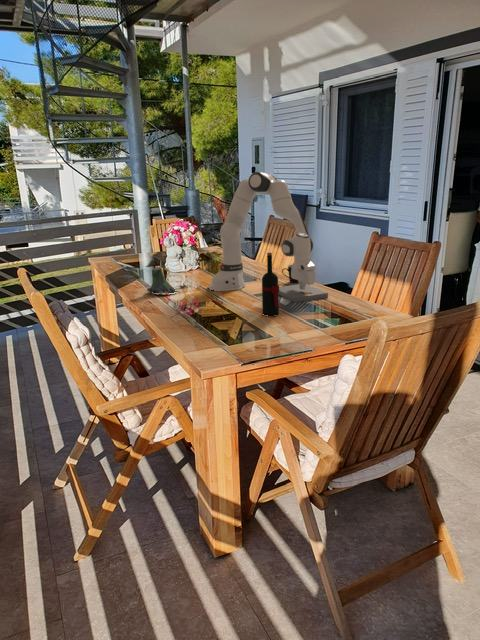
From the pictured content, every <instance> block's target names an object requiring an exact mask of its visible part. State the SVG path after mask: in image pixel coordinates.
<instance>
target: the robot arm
mask: <svg viewBox="0 0 480 640" xmlns="http://www.w3.org/2000/svg"><path fill="white" fill-rule="evenodd" d="M290 191H291V190H290V189H289V186H288V184H287V182H286V181H284V180H282V179H281V180H280V179H279V180H278V179H277V177H276V176H274V175H273V174H270V173H267V172H262V171H255V172H253V173H251V175H250V176H249V178H244V179H242V180H241V181H240V183H239V185H238V186H237V189H236V190H235V193H234V195H233V198H232V200H231V203H230V205H229V209H228V212H227V214H226V219H225V221H224V224H223V225H221V226H220V231H219V232H220V233H219V234H220V243H221V250H222V264H220V263H219V264H217V268H219V269H220V270H219V271H218V272H217V273H216V274H215V275H214V276H213V277H212V278H211V284H210V285H208V286H207V288H209V289H210V291H211V290H214V291H213V292H216V291H217V292H227V291H239V290H241V289H242V288H245V287H246V283H245V279H244V274H243V272H244V271H243V269H244V266H243V259H242V245H241V234H242V231H243V228H244V226H245V222H246V220H247V217H248V214H249V212H250V210H251V207H252V204H253V201H254V199H255V196H256V195H257V194H261V195H269V196H270V201H271V205H272V209H273V212H274V214H275V215H277V217H279V218H283V219H285V220H288V221H290V222H291V223H292V225H293V226H294V229H295V230H296V234H294V236H292V237H290V238H288V239H285V240H283V242H281V243H282V244H281V252H282V253H283V255H284V256H286V257H289V258H290V257H294V258H293V263H292V265H293V266H292V268H291V277H292V278H293V279H296V280H298V282H299V283H298V284H299V285H300V289H302V290H305V286H306V284H307V285H310V286H312V285H314V284H315V283H316V272H315V271H316V265H315V264H314V263H313V261H311V260H312V259H311V253H312V251H313V249H314V242H313V240H312V238H311V236H310V234H309V232H308V228H307V226H306V224H305V221H304V218H303V216H302V214H301V212H300V210H299V209H298V208H297V207H296V205H295V204H294V202H293V199H292V194H291V192H290ZM209 289H208V290H209Z"/></svg>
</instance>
